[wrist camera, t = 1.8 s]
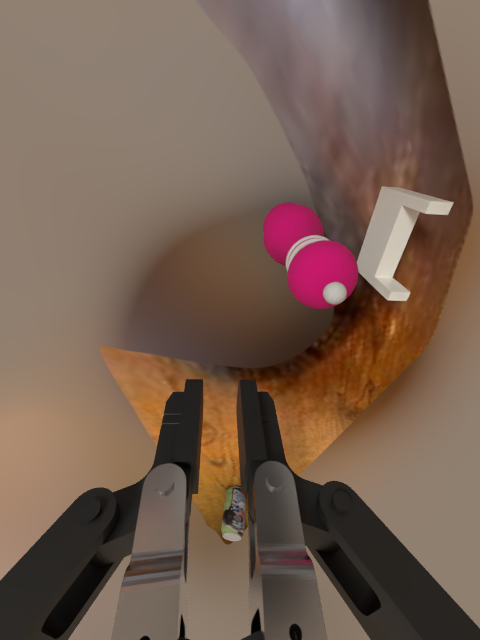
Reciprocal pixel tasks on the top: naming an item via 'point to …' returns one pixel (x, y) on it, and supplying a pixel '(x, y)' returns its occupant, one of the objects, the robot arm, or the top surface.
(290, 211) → the pepper mill
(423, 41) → the top surface
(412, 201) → the u rest
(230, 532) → the beverage can
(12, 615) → the robot arm
